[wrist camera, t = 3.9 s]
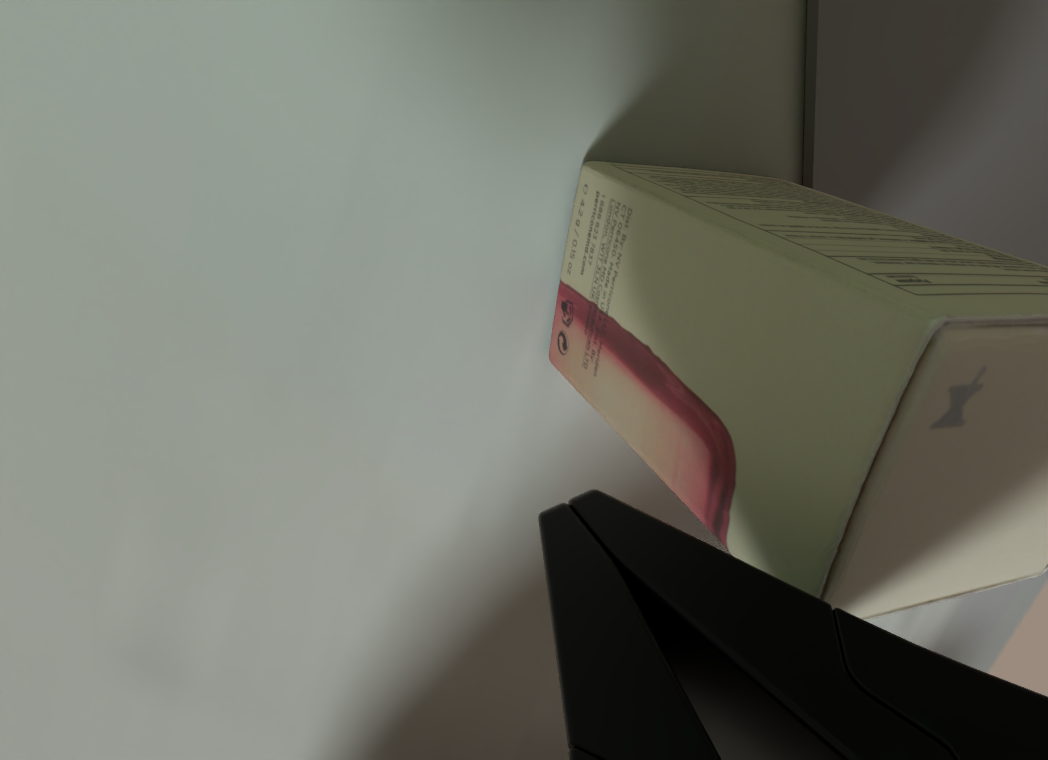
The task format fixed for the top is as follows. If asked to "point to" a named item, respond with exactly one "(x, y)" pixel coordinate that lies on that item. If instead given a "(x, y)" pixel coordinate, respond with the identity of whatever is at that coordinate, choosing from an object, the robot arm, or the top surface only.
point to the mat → (933, 114)
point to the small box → (815, 379)
